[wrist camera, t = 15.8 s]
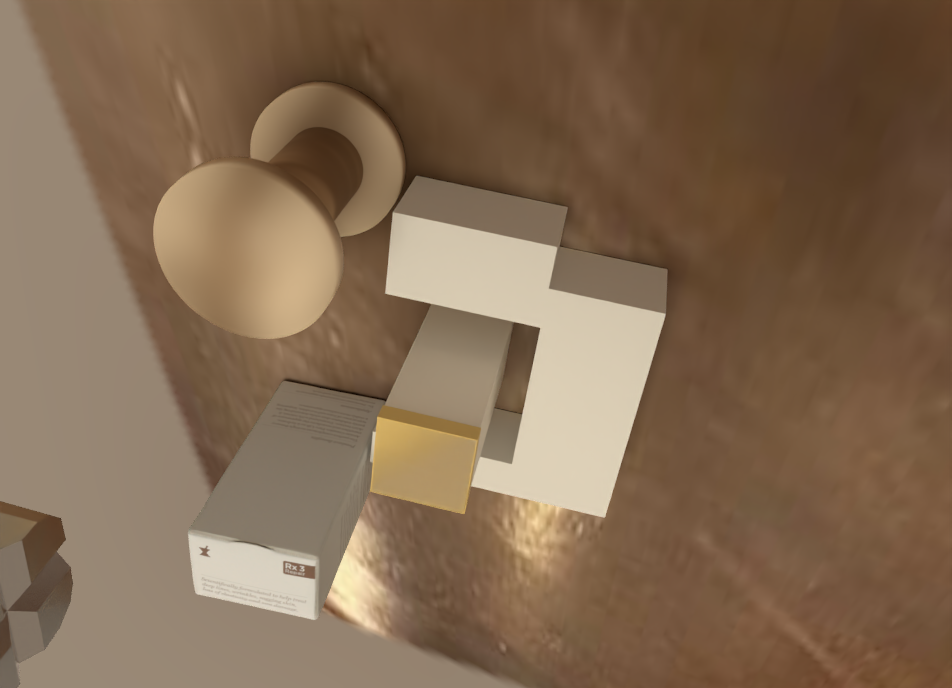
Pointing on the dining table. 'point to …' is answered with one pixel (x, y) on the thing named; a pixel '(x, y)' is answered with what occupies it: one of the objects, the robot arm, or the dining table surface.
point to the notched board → (560, 339)
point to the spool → (280, 211)
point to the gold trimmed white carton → (441, 409)
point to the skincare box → (287, 502)
